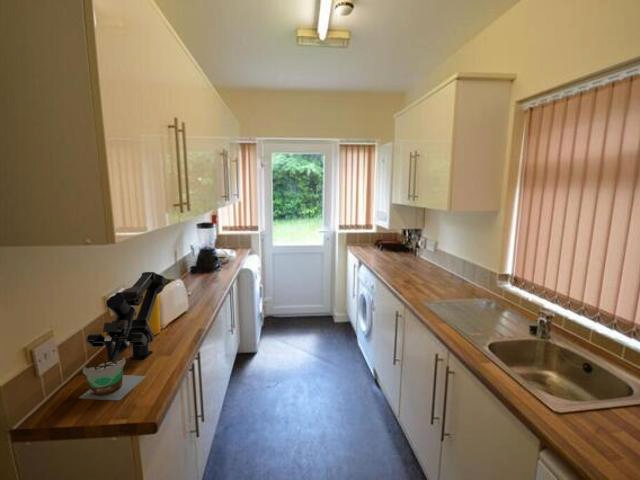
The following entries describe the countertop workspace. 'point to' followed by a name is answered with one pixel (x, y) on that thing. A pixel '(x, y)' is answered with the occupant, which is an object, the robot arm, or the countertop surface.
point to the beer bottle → (154, 316)
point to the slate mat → (126, 387)
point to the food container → (105, 377)
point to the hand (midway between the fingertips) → (109, 363)
